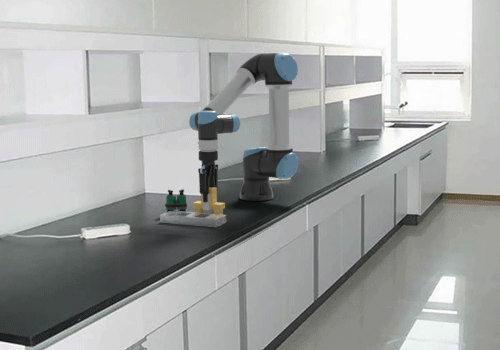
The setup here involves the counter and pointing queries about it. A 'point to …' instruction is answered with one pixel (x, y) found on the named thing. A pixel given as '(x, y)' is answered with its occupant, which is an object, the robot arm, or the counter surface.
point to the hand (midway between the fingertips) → (209, 208)
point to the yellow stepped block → (213, 203)
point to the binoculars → (176, 201)
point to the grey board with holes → (193, 218)
